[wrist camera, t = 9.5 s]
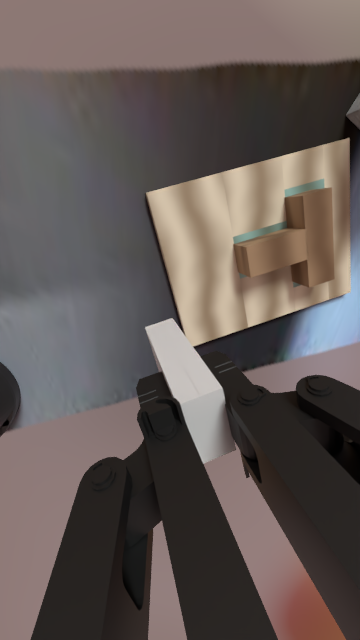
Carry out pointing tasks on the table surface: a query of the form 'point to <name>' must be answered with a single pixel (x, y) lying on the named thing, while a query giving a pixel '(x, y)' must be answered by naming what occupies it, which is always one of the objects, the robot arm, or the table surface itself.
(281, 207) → the board
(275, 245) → the t block
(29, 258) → the table surface
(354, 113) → the skincare box
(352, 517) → the robot arm
